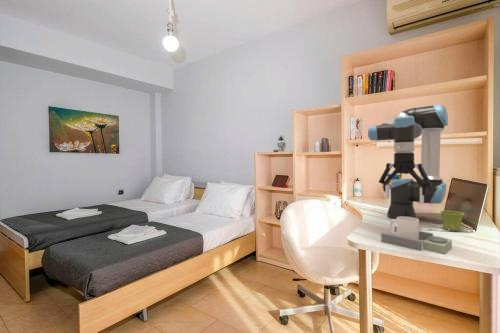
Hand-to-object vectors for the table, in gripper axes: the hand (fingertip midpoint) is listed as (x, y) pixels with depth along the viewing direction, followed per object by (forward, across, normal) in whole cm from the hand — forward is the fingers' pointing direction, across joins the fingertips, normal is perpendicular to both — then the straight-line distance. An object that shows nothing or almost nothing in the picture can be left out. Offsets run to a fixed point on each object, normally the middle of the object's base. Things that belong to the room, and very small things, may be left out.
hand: (403, 200), depth 113 cm
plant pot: (+18, +10, +34) cm, 40 cm away
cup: (+18, 0, -1) cm, 18 cm away
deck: (+18, +6, -1) cm, 19 cm away
